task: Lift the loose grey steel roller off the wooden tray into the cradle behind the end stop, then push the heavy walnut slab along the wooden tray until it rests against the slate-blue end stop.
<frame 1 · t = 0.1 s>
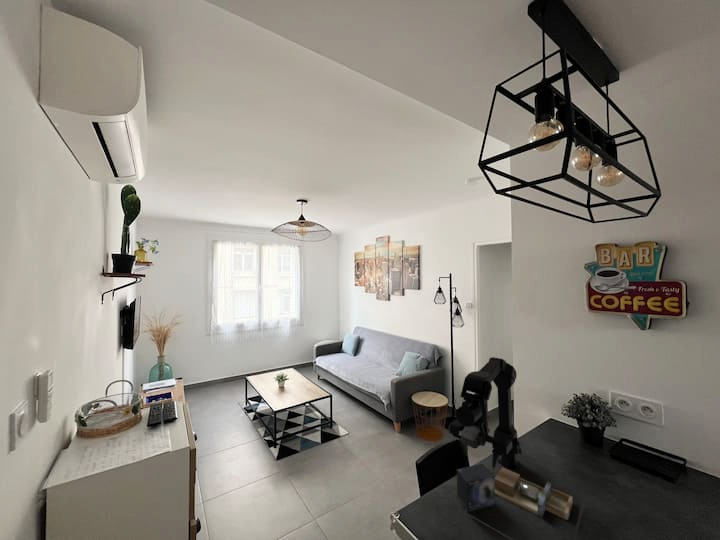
hand: (479, 461, 96), 15 cm above the table, fingers open, 9 cm apart
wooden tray: (520, 494, 100), on the table
roller: (529, 491, 98), point 2 cm above the table, touching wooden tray
small box: (475, 504, 97), on the table
slab: (507, 486, 103), point 1 cm above the table, touching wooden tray
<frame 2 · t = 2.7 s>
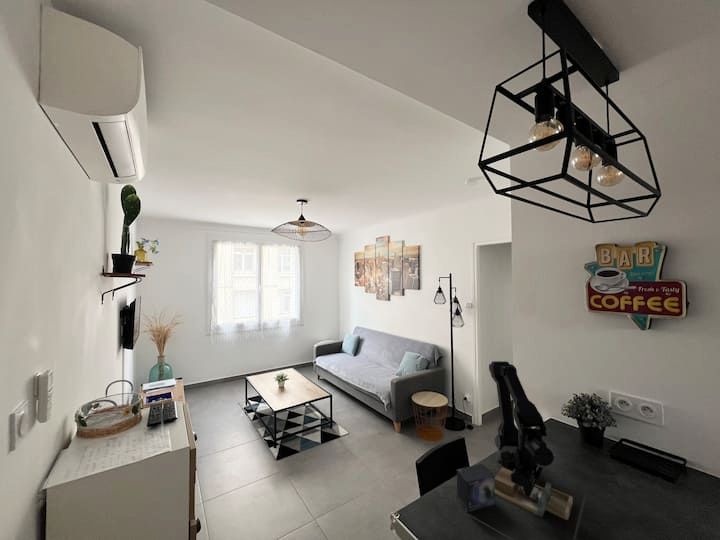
hand: (529, 492, 98), 2 cm above the table, fingers closed on roller, 4 cm apart
roller: (529, 491, 98), point 2 cm above the table, touching gripper, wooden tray
everything else where it was.
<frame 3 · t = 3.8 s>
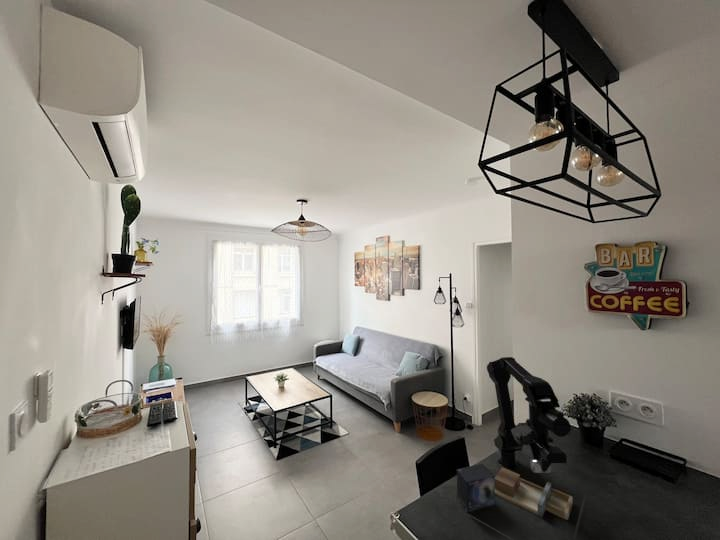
hand: (540, 467, 97), 12 cm above the table, fingers closed on roller, 4 cm apart
roller: (540, 465, 97), point 12 cm above the table, touching gripper
everything else where it was.
when the fingers open (5 cm above the table, at t = 5.4 s): roller drops 3 cm, resting on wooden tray.
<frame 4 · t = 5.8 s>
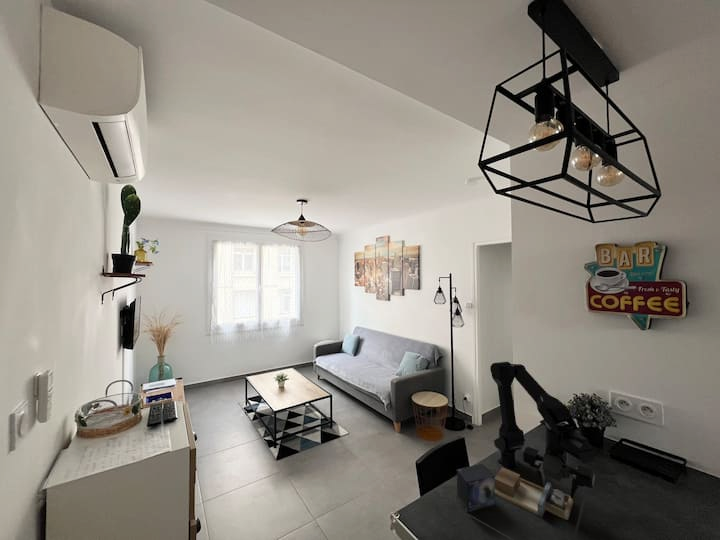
hand: (557, 491, 94), 5 cm above the table, fingers open, 7 cm apart
roller: (557, 499, 94), point 2 cm above the table, touching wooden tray
everything else where it was.
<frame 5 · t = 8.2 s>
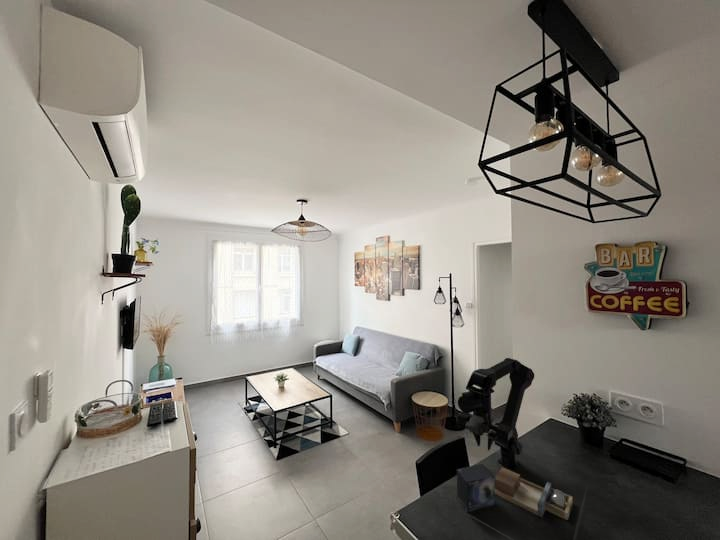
hand: (483, 447, 109), 11 cm above the table, fingers open, 3 cm apart
nothing on the table moved.
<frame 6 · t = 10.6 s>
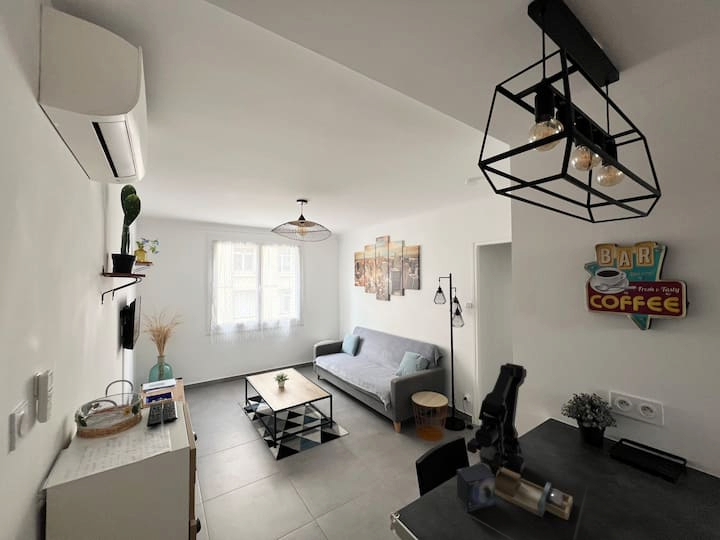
hand: (494, 477, 106), 2 cm above the table, fingers closed
roller: (555, 499, 95), point 2 cm above the table, tilted 15°, touching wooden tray
slab: (507, 486, 103), point 1 cm above the table, touching gripper, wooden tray
everything else where it was.
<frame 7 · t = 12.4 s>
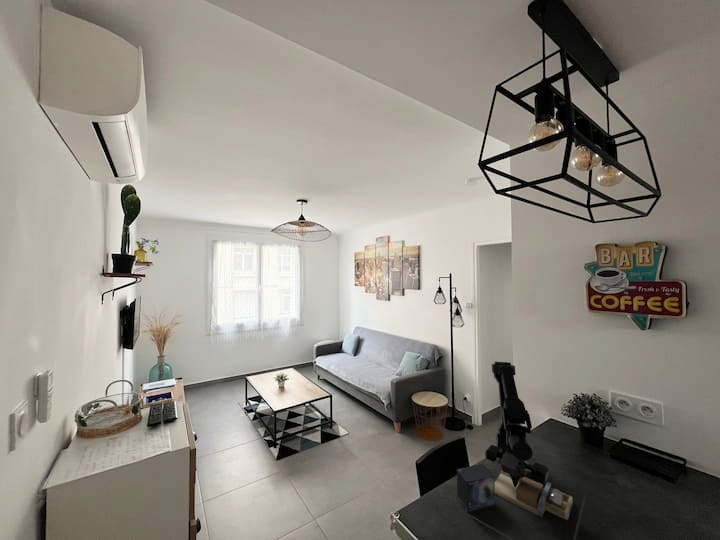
hand: (515, 486, 101), 2 cm above the table, fingers closed
slab: (529, 497, 98), point 1 cm above the table, touching gripper, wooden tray
everything else where it was.
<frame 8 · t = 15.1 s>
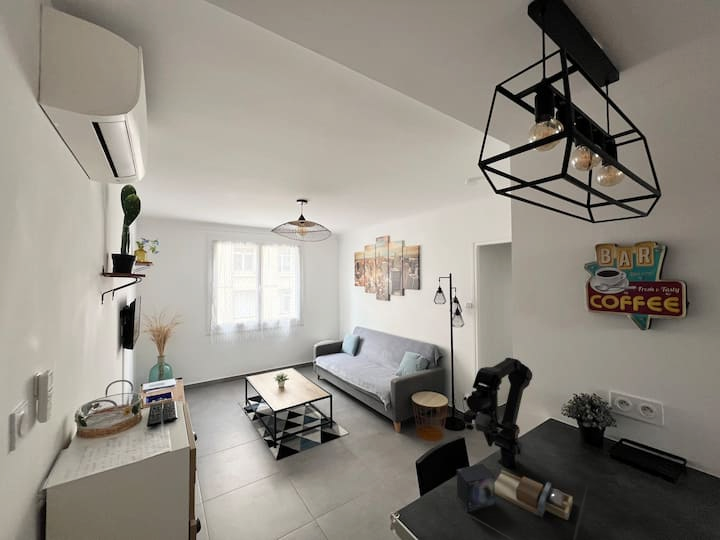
hand: (490, 446, 108), 12 cm above the table, fingers closed
slab: (529, 497, 98), point 1 cm above the table, touching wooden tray
everything else where it was.
at the end: slab 0.6 cm from the target spot, point 0.6 cm above the table; roller 0.3 cm from the target spot, point 2.4 cm above the table; slab tilted 0° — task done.
